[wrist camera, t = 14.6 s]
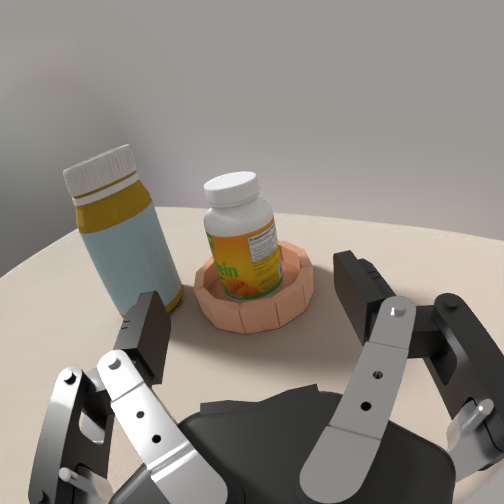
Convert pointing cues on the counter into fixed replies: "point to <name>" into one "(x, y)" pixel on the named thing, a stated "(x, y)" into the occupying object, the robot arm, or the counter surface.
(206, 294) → the terracotta dish
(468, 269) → the counter surface
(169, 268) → the bottle
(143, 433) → the robot arm
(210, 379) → the counter surface
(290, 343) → the counter surface
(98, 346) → the counter surface
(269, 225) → the supplement bottle
